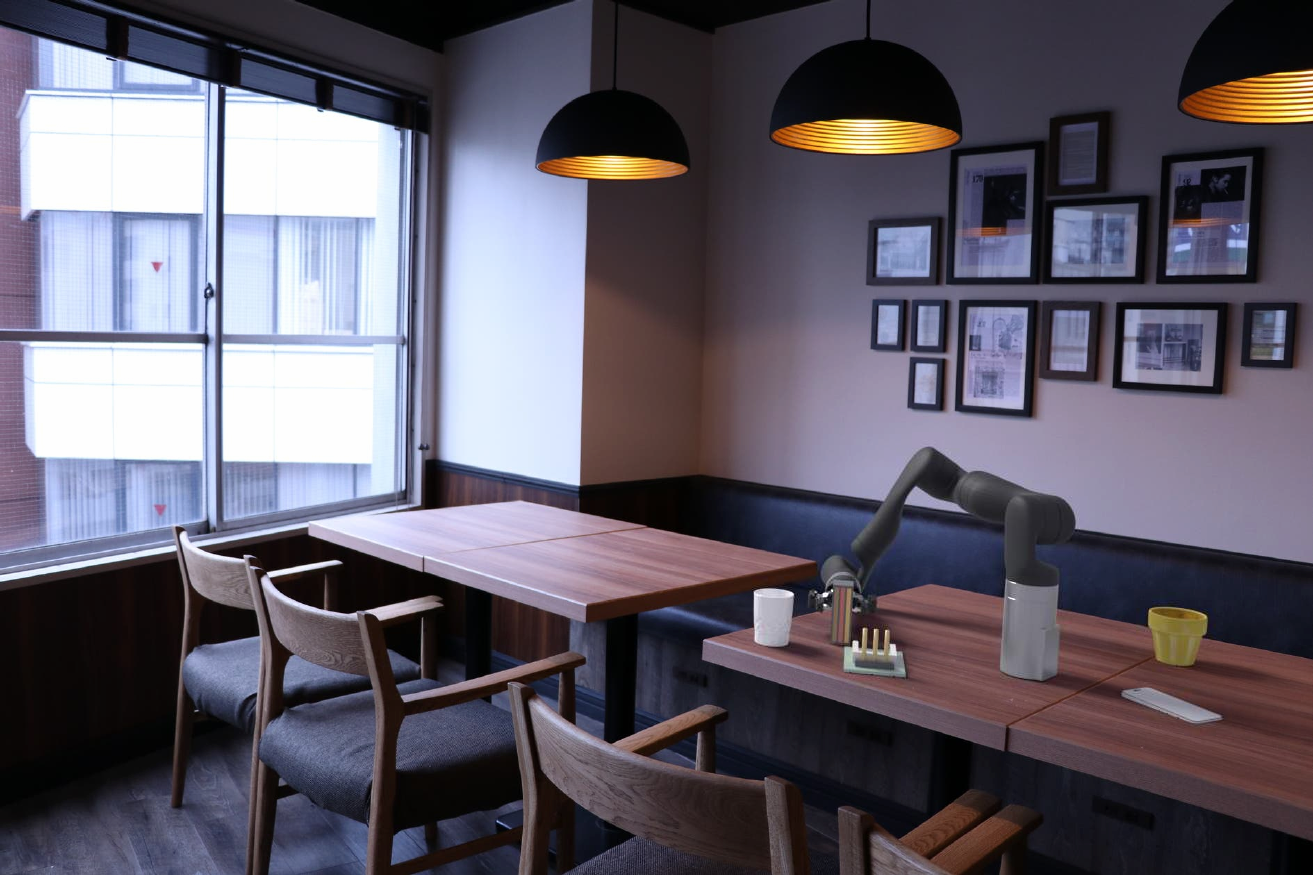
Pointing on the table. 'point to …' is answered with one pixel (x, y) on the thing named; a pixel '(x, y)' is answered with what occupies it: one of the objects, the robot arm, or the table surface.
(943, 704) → the table surface
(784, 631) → the white cup
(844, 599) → the block
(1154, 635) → the plant pot
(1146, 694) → the smartphone
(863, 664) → the header board
